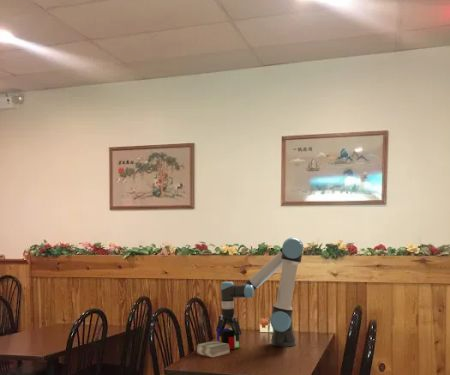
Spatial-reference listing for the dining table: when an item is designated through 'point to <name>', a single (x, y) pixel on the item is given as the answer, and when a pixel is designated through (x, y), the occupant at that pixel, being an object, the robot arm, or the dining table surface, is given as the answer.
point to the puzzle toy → (226, 337)
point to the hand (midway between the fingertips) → (228, 345)
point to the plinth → (213, 348)
